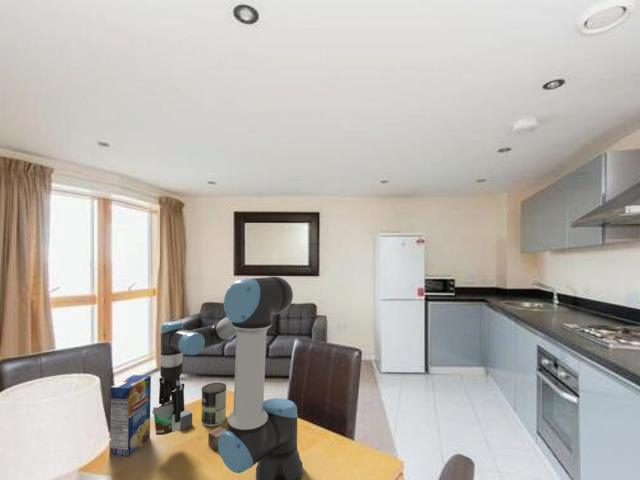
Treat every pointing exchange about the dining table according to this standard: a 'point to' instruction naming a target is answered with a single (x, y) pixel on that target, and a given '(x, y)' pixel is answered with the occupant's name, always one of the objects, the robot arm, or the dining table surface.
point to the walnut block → (214, 438)
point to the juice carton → (129, 415)
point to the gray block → (185, 419)
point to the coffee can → (213, 404)
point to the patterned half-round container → (163, 418)
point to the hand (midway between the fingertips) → (171, 427)
